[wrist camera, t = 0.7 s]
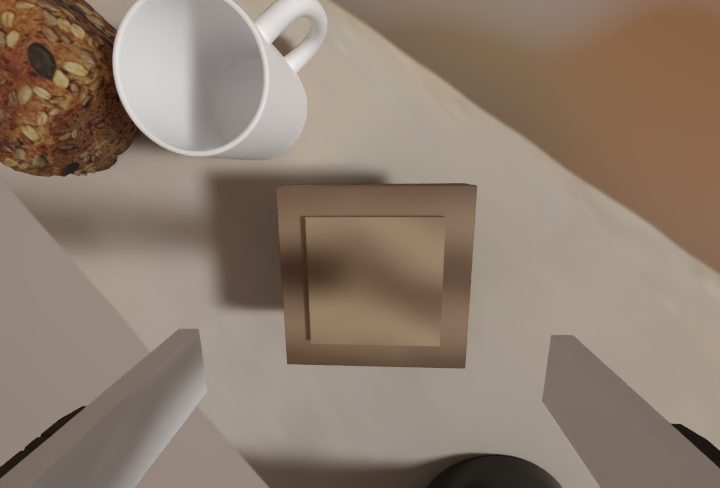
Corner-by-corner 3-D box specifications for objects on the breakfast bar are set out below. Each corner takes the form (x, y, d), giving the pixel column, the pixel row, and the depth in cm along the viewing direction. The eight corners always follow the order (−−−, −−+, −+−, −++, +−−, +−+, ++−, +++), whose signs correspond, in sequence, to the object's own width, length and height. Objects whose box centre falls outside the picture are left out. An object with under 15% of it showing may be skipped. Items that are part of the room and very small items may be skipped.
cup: (187, 97, 27) (79, 58, 18) (301, -7, 25) (250, -120, 15) (253, 180, 29) (186, 187, 19) (367, 87, 26) (359, 39, 17)
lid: (455, 345, 25) (466, 372, 22) (297, 342, 26) (285, 367, 23) (464, 183, 23) (479, 185, 19) (288, 184, 23) (273, 187, 20)
